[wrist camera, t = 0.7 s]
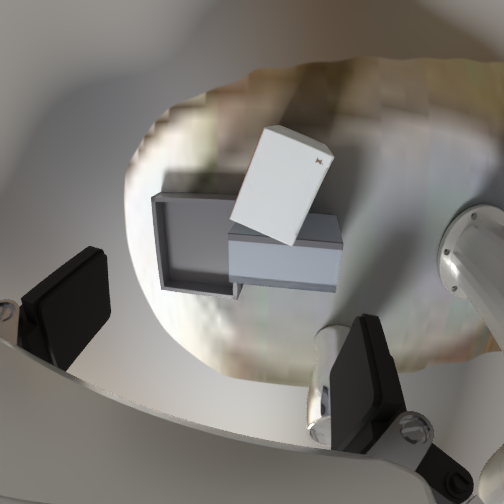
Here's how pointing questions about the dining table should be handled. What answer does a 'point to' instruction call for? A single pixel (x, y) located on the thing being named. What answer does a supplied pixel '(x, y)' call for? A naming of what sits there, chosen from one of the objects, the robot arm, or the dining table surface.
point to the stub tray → (194, 242)
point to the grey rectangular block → (288, 256)
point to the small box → (281, 183)
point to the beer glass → (323, 383)
